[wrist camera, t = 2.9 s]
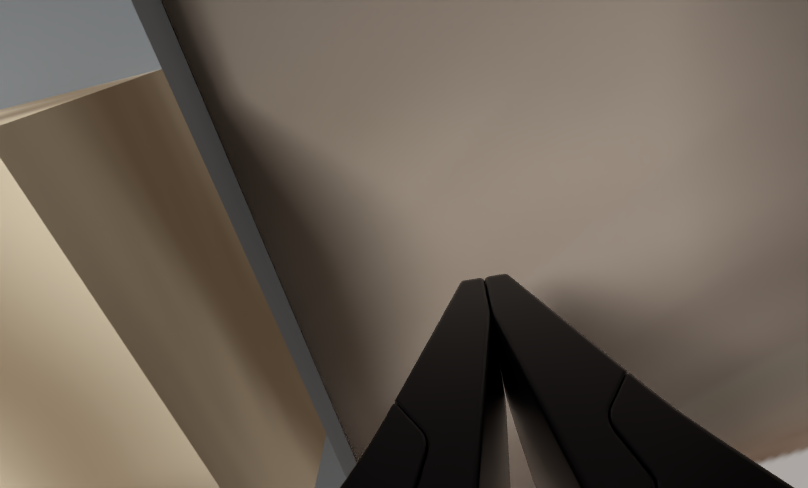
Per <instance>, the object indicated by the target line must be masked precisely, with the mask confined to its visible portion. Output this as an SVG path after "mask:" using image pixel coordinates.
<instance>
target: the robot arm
mask: <svg viewBox="0 0 808 488" xmlns="http://www.w3.org/2000/svg"><path fill="white" fill-rule="evenodd" d="M502 379H503V380H502ZM503 384H504V386H503ZM504 389H505V393H506V397H507V401H508V404H509V407H510V411H511V414H512V417H513V420H514V423H515V426H516V429H517V432H518V435H519V438H520V441H521V444H522V447H523V450H524V453H525V456H526V459H527V463H528V466H529V469H530V472H531V475H532V478H533V481H534V484H535V487H536V488H794V487H792V486H791V485H789V484H787V483H786V482H784V481H783V480H781V479H780V478H778V477H777V476H775V475H774V474H772V473H771V472H769V471H768V470H766V469H765V468H763V467H761V466H760V465H758V464H757V463H755V462H754V461H752V460H751V459H749V458H748V457H746V456H745V455H743V454H742V453H740V452H739V451H737V450H736V449H734V448H732V447H731V446H729V445H728V444H726V443H725V442H723V441H722V440H720V439H719V438H717V437H716V436H714V435H713V434H711V433H710V432H708V431H707V430H705V429H704V428H703V427H701V426H700V425H698V424H697V423H695V422H694V421H692V420H691V419H689V418H688V417H687V416H685V415H684V414H682V413H681V412H679V411H678V410H676V409H675V408H674V407H673V406H671V405H670V404H669V403H667V402H666V401H665V400H663V399H662V398H661V397H659V396H658V395H657V394H656V393H654V392H653V391H652V390H650V389H649V388H648V387H646V386H645V385H644V384H643V383H641V382H640V381H639V380H638V379H637V378H635V377H634V376H633V375H632V374H627V371H626V370H625V369H624V368H623V367H621V366H620V365H619V364H618V363H616V362H615V361H614V360H613V359H612V358H610V357H609V356H608V355H607V354H605V353H604V352H603V351H602V350H600V349H599V348H598V347H597V346H595V345H594V344H593V343H592V342H591V341H589V340H588V339H587V338H586V337H584V336H583V335H582V334H581V333H579V332H578V331H577V330H576V329H574V328H573V327H572V326H571V325H570V324H568V323H567V322H566V321H565V320H563V319H562V318H561V317H560V316H558V315H557V314H556V313H555V312H553V311H552V310H551V309H550V308H548V307H547V306H546V305H545V304H544V303H542V302H541V301H540V300H539V299H537V298H536V297H535V296H534V295H532V294H531V293H530V292H529V291H527V290H526V289H525V288H524V287H523V286H521V285H520V284H519V283H518V282H516V281H515V280H514V279H513V278H511V277H510V276H509V275H507V274H501V275H495V276H489V277H487V278H486V279H485V281H484V280H483V279H482V278H477V279H471V280H465V281H462V282H461V283H460V285H459V287H458V289H457V290H456V292H455V294H454V296H453V298H452V299H451V301H450V303H449V305H448V306H447V308H446V310H445V312H444V314H443V315H442V317H441V319H440V321H439V323H438V324H437V326H436V328H435V330H434V332H433V333H432V335H431V337H430V339H429V341H428V342H427V344H426V346H425V348H424V350H423V351H422V353H421V355H420V357H419V359H418V360H417V362H416V364H415V366H414V368H413V369H412V371H411V373H410V375H409V377H408V378H407V380H406V382H405V384H404V386H403V387H402V389H401V391H400V393H399V395H398V396H397V398H396V400H395V404H393V405H392V407H391V408H390V410H389V412H388V414H387V416H386V418H385V419H384V421H383V423H382V424H381V426H380V428H379V429H378V431H377V433H376V434H375V436H374V438H373V439H372V441H371V443H370V444H369V446H368V448H367V449H366V451H365V452H364V454H363V455H362V456H361V458H360V459H359V461H358V462H357V464H356V465H355V467H354V468H353V470H352V471H351V473H350V474H349V475H348V477H347V478H346V480H345V481H344V482H343V484H342V485H341V487H340V488H510V472H509V453H508V434H507V415H506V401H505V393H504Z"/></svg>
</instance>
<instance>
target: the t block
mask: <svg viewBox="0 0 808 488" xmlns="http://www.w3.org/2000/svg"><path fill="white" fill-rule="evenodd" d="M325 437H326V432H325V430H324V427H323V425H322V423H321V421H320V419H319V416H318V414H317V412H316V410H315V407H314V405H313V403H312V401H311V399H310V396H309V394H308V392H307V390H306V387H305V385H304V383H303V381H302V379H301V376H300V374H299V372H298V370H297V368H296V365H295V363H294V361H293V359H292V356H291V354H290V352H289V350H288V348H287V345H286V343H285V341H284V339H283V336H282V334H281V332H280V330H279V328H278V325H277V323H276V321H275V319H274V316H273V314H272V312H271V310H270V308H269V305H268V303H267V301H266V299H265V296H264V294H263V292H262V290H261V288H260V285H259V283H258V281H257V279H256V277H255V274H254V272H253V270H252V268H251V265H250V263H249V261H248V259H247V257H246V254H245V252H244V250H243V248H242V245H241V243H240V241H239V239H238V237H237V234H236V232H235V230H234V228H233V225H232V223H231V221H230V219H229V217H228V214H227V212H226V210H225V208H224V205H223V203H222V201H221V199H220V197H219V194H218V192H217V190H216V188H215V186H214V183H213V181H212V179H211V177H210V174H209V172H208V170H207V168H206V166H205V163H204V161H203V159H202V157H201V154H200V152H199V150H198V148H197V146H196V143H195V141H194V139H193V137H192V134H191V132H190V130H189V128H188V126H187V123H186V121H185V119H184V117H183V114H182V112H181V110H180V108H179V106H178V103H177V101H176V99H175V97H174V95H173V92H172V90H171V88H170V86H169V83H168V81H167V79H166V77H165V75H164V72H163V70H162V69H160V70H156V71H152V72H148V73H144V74H140V75H136V76H132V77H128V78H124V79H120V80H116V81H112V82H108V83H104V84H100V85H96V86H92V87H88V88H84V89H80V90H76V91H72V92H68V93H64V94H60V95H56V96H52V97H48V98H44V99H40V100H36V101H32V102H28V103H24V104H20V105H16V106H12V107H8V108H4V109H0V488H315V484H316V479H317V475H318V470H319V465H320V461H321V456H322V451H323V447H324V442H325Z"/></svg>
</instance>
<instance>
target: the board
mask: <svg viewBox="0 0 808 488" xmlns="http://www.w3.org/2000/svg"><path fill="white" fill-rule="evenodd" d="M160 69H162V70H163V72H164V75H165V77H166V79H167V81H168V83H169V86H170V88H171V90H172V92H173V95H174V97H175V99H176V101H177V103H178V106H179V108H180V110H181V112H182V114H183V117H184V119H185V121H186V123H187V126H188V128H189V130H190V132H191V134H192V137H193V139H194V141H195V143H196V146H197V148H198V150H199V152H200V154H201V157H202V159H203V161H204V163H205V166H206V168H207V170H208V172H209V174H210V177H211V179H212V181H213V183H214V186H215V188H216V190H217V192H218V194H219V197H220V199H221V201H222V203H223V205H224V208H225V210H226V212H227V214H228V217H229V219H230V221H231V223H232V225H233V228H234V230H235V232H236V234H237V237H238V239H239V241H240V243H241V245H242V248H243V250H244V252H245V254H246V257H247V259H248V261H249V263H250V265H251V268H252V270H253V272H254V274H255V277H256V279H257V281H258V283H259V285H260V288H261V290H262V292H263V294H264V296H265V299H266V301H267V303H268V305H269V308H270V310H271V312H272V314H273V316H274V319H275V321H276V323H277V325H278V328H279V330H280V332H281V334H282V336H283V339H284V341H285V343H286V345H287V348H288V350H289V352H290V354H291V356H292V359H293V361H294V363H295V365H296V368H297V370H298V372H299V374H300V376H301V379H302V381H303V383H304V385H305V387H306V390H307V392H308V394H309V396H310V399H311V401H312V403H313V405H314V407H315V410H316V412H317V414H318V416H319V419H320V421H321V423H322V425H323V427H324V430H325V432H326V437H325V442H324V447H323V451H322V456H321V461H320V465H319V470H318V475H317V479H316V484H315V488H340V487H341V485H342V484H343V482H344V481H345V480H346V478H347V477H348V475H349V474H350V473H351V471H352V470H353V468H354V467H355V465H356V464H357V463H356V460H355V458H354V456H353V453H352V451H351V449H350V446H349V444H348V442H347V439H346V437H345V434H344V432H343V430H342V427H341V425H340V423H339V420H338V418H337V416H336V413H335V411H334V408H333V406H332V404H331V401H330V399H329V397H328V394H327V392H326V390H325V387H324V385H323V383H322V380H321V378H320V375H319V373H318V371H317V368H316V366H315V364H314V361H313V359H312V357H311V354H310V352H309V349H308V347H307V345H306V342H305V340H304V338H303V335H302V333H301V331H300V328H299V326H298V323H297V321H296V319H295V316H294V314H293V312H292V309H291V307H290V305H289V302H288V300H287V297H286V295H285V293H284V290H283V288H282V286H281V283H280V281H279V279H278V276H277V274H276V272H275V269H274V267H273V264H272V262H271V260H270V257H269V255H268V253H267V250H266V248H265V246H264V243H263V241H262V238H261V236H260V234H259V231H258V229H257V227H256V224H255V222H254V220H253V217H252V215H251V212H250V210H249V208H248V205H247V203H246V201H245V198H244V196H243V194H242V191H241V189H240V187H239V184H238V182H237V179H236V177H235V175H234V172H233V170H232V168H231V165H230V163H229V161H228V158H227V156H226V153H225V151H224V149H223V146H222V144H221V142H220V139H219V137H218V135H217V132H216V130H215V127H214V125H213V123H212V120H211V118H210V116H209V113H208V111H207V109H206V106H205V104H204V102H203V99H202V97H201V94H200V92H199V90H198V87H197V85H196V83H195V80H194V78H193V76H192V73H191V71H190V68H189V66H188V64H187V61H186V59H185V57H184V54H183V52H182V50H181V47H180V45H179V42H178V40H177V38H176V35H175V33H174V31H173V28H172V26H171V24H170V21H169V19H168V17H167V14H166V12H165V9H164V7H163V5H162V2H161V0H0V109H4V108H8V107H12V106H16V105H20V104H24V103H28V102H32V101H36V100H40V99H44V98H48V97H52V96H56V95H60V94H64V93H68V92H72V91H76V90H80V89H84V88H88V87H92V86H96V85H100V84H104V83H108V82H112V81H116V80H120V79H124V78H128V77H132V76H136V75H140V74H144V73H148V72H152V71H156V70H160Z"/></svg>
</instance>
